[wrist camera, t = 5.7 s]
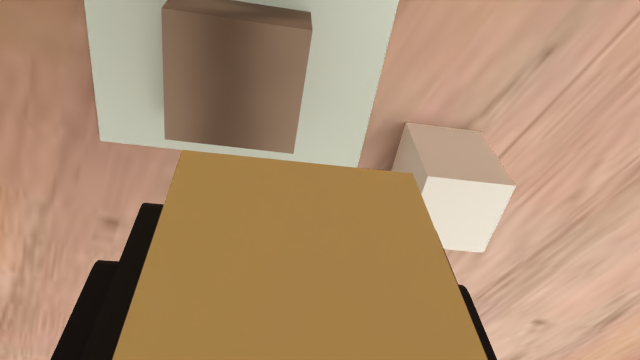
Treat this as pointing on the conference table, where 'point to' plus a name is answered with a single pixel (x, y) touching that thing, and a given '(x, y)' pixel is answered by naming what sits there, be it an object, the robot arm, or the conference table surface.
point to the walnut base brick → (234, 73)
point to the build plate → (319, 88)
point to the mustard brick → (295, 268)
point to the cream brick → (456, 182)
